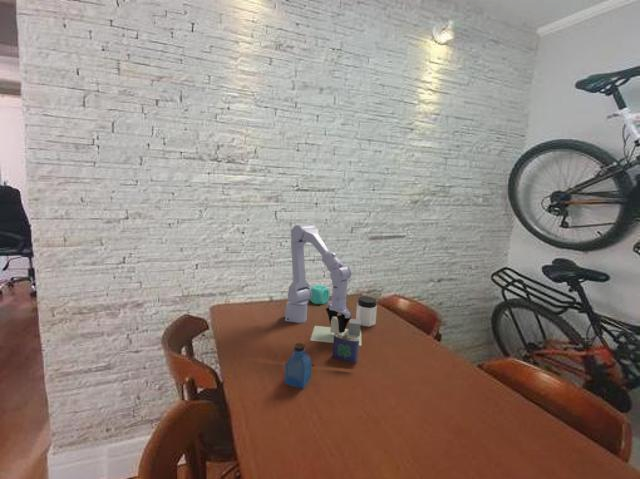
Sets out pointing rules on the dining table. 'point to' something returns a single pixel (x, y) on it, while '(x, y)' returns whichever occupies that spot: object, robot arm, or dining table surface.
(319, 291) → the decorative dice
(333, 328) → the cream colored cube
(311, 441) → the dining table surface
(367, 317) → the jar
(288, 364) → the perfume bottle
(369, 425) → the dining table surface
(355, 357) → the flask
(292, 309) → the robot arm
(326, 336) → the board
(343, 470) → the dining table surface
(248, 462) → the dining table surface
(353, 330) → the grey sharp-edged cube
